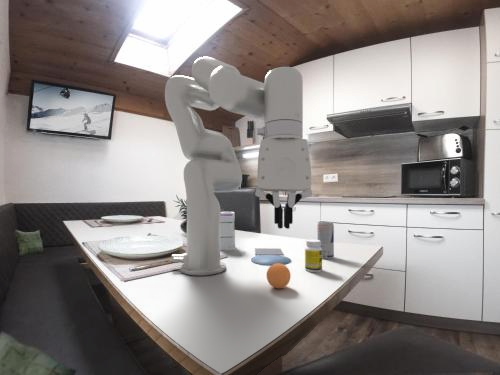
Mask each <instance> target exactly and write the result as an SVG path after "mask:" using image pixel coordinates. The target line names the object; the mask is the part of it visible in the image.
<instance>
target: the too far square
mask: <svg viewBox="0 0 500 375" xmlns="http://www.w3.org/2000/svg"><path fill="white" fill-rule="evenodd" d="M254 253H255V254H254V256H259V255H280V256H284V253H283V250H282V249H281V248H258V247H257V248H254Z"/></svg>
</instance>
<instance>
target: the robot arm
mask: <svg viewBox="0 0 500 375" xmlns="http://www.w3.org/2000/svg"><path fill="white" fill-rule="evenodd" d="M191 75H192V77H189V76H185V75H173V76H172V77H169V79H167V82H166V83H165V89H164V101H165V105H166V109H167V112H168V114H169V115H170V118H171V120H172V122H173V123H174V126H175V129H176V133H177V136H178V140H179V144H180V148H181V152H182V155H183V156H184V157H185V159H187V160H189V161H188V162H187V163H186V164H185V166H184V168H183V182H184V187H185V192H186V193H185V195H186V252H185V253H182V254H172V255H171V261H172V262H173V263H175V264H177V263H181V266H180V271H181V273H183V274H184V275H189V276H202V277H203V276H212V275H216V274H219V273H222V272H224V271H225V270H226V266H227V265H226V263H225V262H223V261H221V250H220V213H221V205H220V202H219V200H218V198H217V196H216V194H215V193H231V192H236V191H237V190H238V189H239V188H241V185H242V182H243V172H242V169H241V165H240V162H239V159H238V157H237V155H236V151H235V148H234V147H233V143H232V142H231V140H230V139H229V138H228V137H227V136H226V135H224V134H221V133H217V132H213V131H212V132H211V131H208V130H206V129H205V126H204V124H203V120H202V118H201V116H200V115H199V114H198V113H197V111H196V110H195V109H193V108H196V109H201V110H205V111H215V110H217V109H218V108H222V109H224V110H226V111H228V112H230V113H233V114H238V115H241V116H245V117H250V118H254V119H258V120H262V121H264V123H263V124H264V125H263V126H262V127H261V128H257V129H256V134H257V135H256V136H260V137H262V138H263V139H261V140H260V143H259V147H258V148H259V149H258V158H257V159H258V160H257V179H256V180H257V186H256V190H255V193H254V195H255V196H256V197H258V198H262V199H265V200H267V201H268V202H269V203H270V205H271V206H273V207H274V208H273V209H274V210H273V211H274V213H273V214H274V215H273V216H274V217H273V218H274V221H273V222H274V224H275V225H276V224H277V228H278V229H281V230H282V228H285V229H287V230H288V229H290V228H291V227H290V226H291V225H293V222H294V221H293V219H294V218H293V217H294V216H293V214H294V213H293V209H294V207H295V205H297V204H298V203H299V202H300V201H301V200H302V199H303V200H304V199H306V198H310V197H312V196H313V192H312V188H311V187H312V168H311V154H310V149H309V148H310V147H309V143H308V139H306V138H304V137H303V135H304V134H303V131H304V130H303V129H304V128H303V124H304V119H303V118H304V114H303V113H304V112H303V111H304V110H303V108H304V106H303V105H304V104H303V102H304V101H303V100H304V98H303V97H304V96H303V89H304V88H303V75H302V74H301V72H300V71H299V70H298V69H297V68H295V67H291V66H280V67H275V68H273V69H271V70H269V71H268V72H267V74H266V75H265V77H264V82H262V81H258V80H256V79H254V78H251V77H249V76H245V75H242V74H241V72H240V71H239V69H238V68H237V67H235V66H233V65H231V64H229V63H226V62H223V61H221V60H219V59H216V58H214V57H211V56H203V57H202V56H201V57H199V58H197V59H196V60H195V61H194V63H192V67H191ZM269 192H271V193H269ZM280 192H287V193H286V194H287V196H286V203H285V204H284V205H285V206H284V207H283V208H282V203H281V201H280V194H279V193H280ZM297 192H298V193H297Z"/></svg>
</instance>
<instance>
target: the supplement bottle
mask: <svg viewBox="0 0 500 375" xmlns="http://www.w3.org/2000/svg"><path fill="white" fill-rule="evenodd" d="M305 245H306V246H305V249H304V270H305V271H306V272H308V273H321V272H322V271H323V259H322V248H321V247H320V246H321V241H320V240H318V239H307V240H306V243H305Z"/></svg>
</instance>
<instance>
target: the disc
mask: <svg viewBox="0 0 500 375" xmlns="http://www.w3.org/2000/svg"><path fill="white" fill-rule="evenodd" d="M250 261H251V262H252V263H254V264H255V265H261V266H271V265H273V264H276V263H280V264H283V265H287V264H290V263H291V262H292V259H291V258H290V257H287V256H284V255H254V256H252V257H251V258H250Z"/></svg>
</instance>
